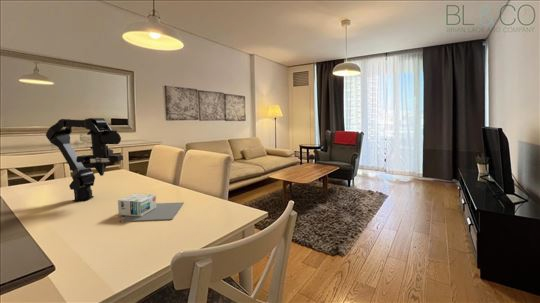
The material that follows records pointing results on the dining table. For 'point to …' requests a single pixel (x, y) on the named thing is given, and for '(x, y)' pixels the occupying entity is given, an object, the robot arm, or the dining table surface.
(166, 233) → the dining table surface
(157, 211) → the charcoal mat
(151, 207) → the light bulb box
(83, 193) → the robot arm
